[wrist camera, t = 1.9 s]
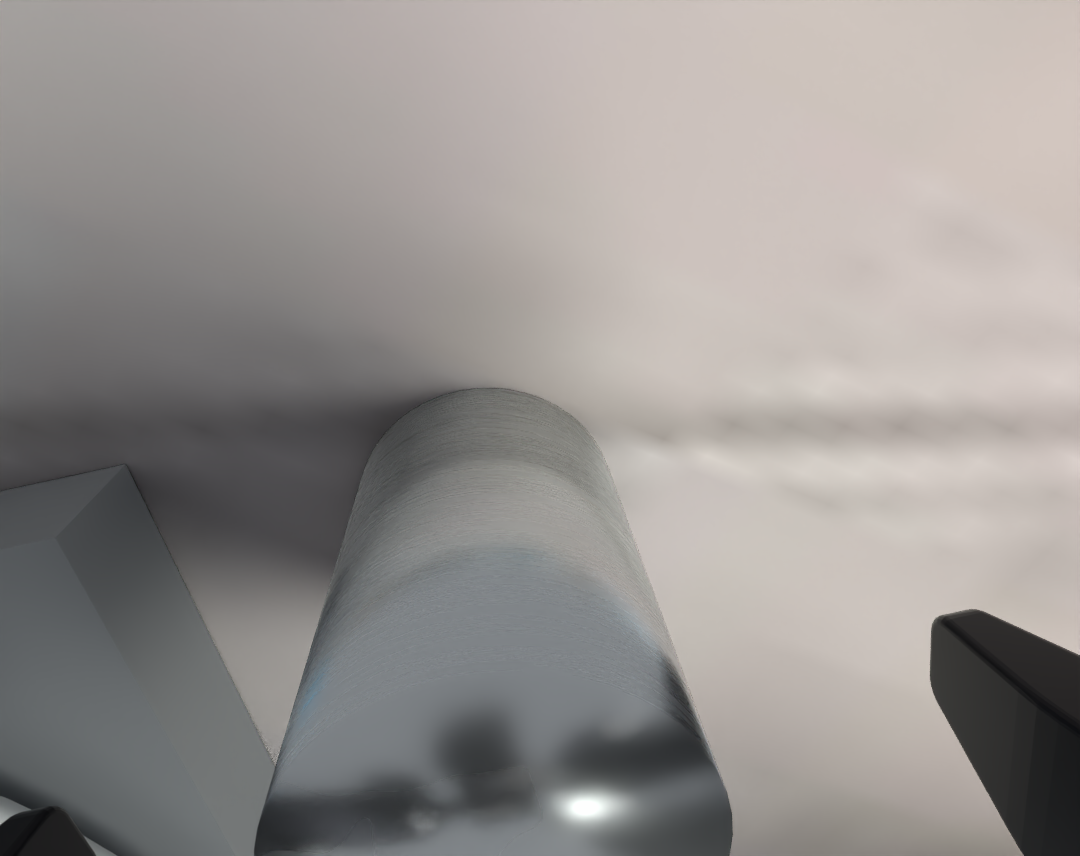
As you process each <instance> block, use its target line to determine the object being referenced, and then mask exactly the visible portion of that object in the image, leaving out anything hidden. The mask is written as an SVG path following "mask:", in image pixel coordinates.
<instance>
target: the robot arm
mask: <svg viewBox="0 0 1080 856" xmlns="http://www.w3.org/2000/svg"><path fill="white" fill-rule="evenodd" d="M930 681H931V687H932V690H933V693H934V696H935V698H936V700H937V702H938V704H939V706H940V708H941V710H942V712H943V713H944V715H945V717H946V719H947V721H948V722H949V724H950V726H951V728H952V730H953V731H954V733H955V735H956V737H957V739H958V740H959V742H960V744H961V746H962V748H963V749H964V751H965V753H966V755H967V757H968V758H969V760H970V762H971V764H972V766H973V767H974V769H975V771H976V773H977V775H978V776H979V778H980V780H981V782H982V783H983V785H984V787H985V789H986V791H987V792H988V794H989V796H990V798H991V800H992V801H993V803H994V805H995V807H996V809H997V810H998V812H999V814H1000V816H1001V818H1002V819H1003V821H1004V823H1005V825H1006V827H1007V828H1008V830H1009V832H1010V833H1011V835H1012V837H1013V838H1014V840H1015V842H1016V844H1017V845H1018V847H1019V849H1020V850H1021V852H1022V853H1023V855H1024V856H1080V655H1078V654H1076V653H1074V652H1071V651H1069V650H1067V649H1065V648H1063V647H1060V646H1058V645H1056V644H1054V643H1052V642H1049V641H1047V640H1045V639H1043V638H1041V637H1038V636H1036V635H1034V634H1032V633H1030V632H1028V631H1025V630H1023V629H1021V628H1019V627H1017V626H1014V625H1012V624H1010V623H1008V622H1006V621H1003V620H1001V619H999V618H997V617H995V616H992V615H990V614H988V613H986V612H983V611H980V610H976V609H969V610H964V611H960V612H955V613H950V614H945V615H941V616H939V617H937V618H936V619H935V620H934V622H933V624H932V629H931V656H930ZM0 856H96V854H95V852H94V851H93V849H92V848H91V846H90V845H89V843H88V842H87V840H86V839H85V837H84V836H83V834H82V833H81V832H80V830H79V829H78V827H77V826H76V824H75V823H74V821H73V820H72V818H71V817H70V816H69V814H68V813H67V812H66V811H65V810H64V809H63V808H61V807H59V806H46V807H42V808H37V809H32V810H28V811H23V812H20V813H17V814H15V815H13V816H11V817H9V818H8V819H7V820H5V821H4V822H3V823H2V824H1V825H0Z"/></svg>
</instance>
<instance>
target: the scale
mask: <svg viewBox="0 0 1080 856" xmlns="http://www.w3.org/2000/svg"><path fill="white" fill-rule="evenodd" d="M274 770H275V766H274V764H273V762H272V760H271V758H270V756H269V754H268V752H267V750H266V748H265V746H264V744H263V742H262V740H261V738H260V735H259V733H258V731H257V729H256V727H255V725H254V723H253V721H252V719H251V717H250V715H249V713H248V711H247V709H246V707H245V705H244V703H243V701H242V699H241V697H240V695H239V693H238V691H237V689H236V687H235V685H234V683H233V681H232V679H231V677H230V675H229V673H228V671H227V669H226V667H225V665H224V663H223V660H222V658H221V656H220V654H219V652H218V650H217V648H216V646H215V644H214V642H213V640H212V638H211V636H210V634H209V632H208V630H207V628H206V626H205V624H204V622H203V620H202V618H201V616H200V614H199V612H198V610H197V608H196V606H195V604H194V602H193V600H192V598H191V596H190V594H189V592H188V590H187V588H186V585H185V583H184V581H183V579H182V577H181V575H180V573H179V571H178V569H177V567H176V565H175V563H174V561H173V559H172V557H171V555H170V553H169V551H168V549H167V547H166V545H165V543H164V541H163V539H162V537H161V535H160V533H159V531H158V529H157V527H156V525H155V523H154V521H153V519H152V517H151V515H150V513H149V510H148V508H147V506H146V504H145V502H144V500H143V498H142V496H141V494H140V492H139V490H138V488H137V486H136V484H135V482H134V480H133V478H132V476H131V474H130V472H129V470H128V468H127V466H126V464H125V465H120V466H115V467H111V468H106V469H102V470H97V471H92V472H88V473H83V474H79V475H74V476H69V477H65V478H60V479H56V480H51V481H46V482H42V483H37V484H33V485H28V486H23V487H19V488H14V489H9V490H5V491H0V825H1V824H2V823H3V822H4V821H5V820H7V819H8V818H9V817H11V816H13V815H15V814H17V813H20V812H23V811H28V810H32V809H37V808H42V807H46V806H59V807H61V808H63V809H64V810H65V811H66V812H67V813H68V814H69V816H70V817H71V818H72V820H73V821H74V823H75V824H76V826H77V827H78V829H79V830H80V832H81V833H82V834H83V836H84V837H85V839H86V840H87V842H88V843H89V845H90V846H91V848H92V849H93V851H94V852H95V854H96V856H254V845H255V839H256V833H257V827H258V824H259V820H260V817H261V814H262V810H263V807H264V804H265V800H266V797H267V794H268V790H269V787H270V783H271V780H272V777H273V773H274Z"/></svg>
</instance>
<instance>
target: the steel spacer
mask: <svg viewBox="0 0 1080 856" xmlns="http://www.w3.org/2000/svg"><path fill="white" fill-rule="evenodd" d="M732 835H733V832H732V812H731V808H730V803H729V799H728V795H727V791H726V789H725V786H724V783H723V780H722V778H721V775H720V772H719V769H718V767H717V764H716V761H715V758H714V756H713V753H712V750H711V747H710V745H709V742H708V739H707V737H706V734H705V731H704V728H703V726H702V723H701V720H700V717H699V715H698V712H697V709H696V706H695V704H694V701H693V698H692V695H691V693H690V690H689V687H688V685H687V682H686V679H685V676H684V674H683V671H682V668H681V665H680V663H679V660H678V657H677V654H676V652H675V649H674V646H673V643H672V641H671V638H670V635H669V632H668V630H667V627H666V624H665V622H664V619H663V616H662V613H661V611H660V608H659V605H658V602H657V600H656V597H655V594H654V591H653V589H652V586H651V583H650V580H649V578H648V575H647V572H646V570H645V567H644V564H643V561H642V559H641V556H640V553H639V550H638V548H637V545H636V542H635V539H634V537H633V534H632V531H631V528H630V526H629V523H628V520H627V518H626V515H625V512H624V509H623V507H622V504H621V501H620V498H619V496H618V493H617V490H616V487H615V485H614V482H613V479H612V476H611V474H610V471H609V468H608V465H607V463H606V461H605V458H604V456H603V454H602V451H601V450H600V448H599V447H598V445H597V443H596V442H595V440H594V439H593V437H592V436H591V435H590V434H589V432H588V431H587V430H586V429H585V428H584V427H583V426H582V425H581V424H580V423H579V422H578V421H577V420H576V419H575V418H574V417H572V416H571V415H570V414H568V413H567V412H565V411H564V410H562V409H561V408H559V407H558V406H556V405H554V404H552V403H550V402H548V401H546V400H544V399H542V398H539V397H536V396H533V395H530V394H527V393H523V392H519V391H514V390H508V389H498V388H477V389H469V390H462V391H456V392H453V393H449V394H446V395H442V396H439V397H437V398H434V399H432V400H430V401H427V402H425V403H423V404H421V405H420V406H418V407H416V408H415V409H413V410H411V411H409V412H408V413H407V414H405V415H404V416H403V417H402V418H400V419H399V420H398V421H396V422H395V423H394V424H393V425H392V426H391V427H390V429H389V430H388V431H387V432H386V433H385V434H384V435H383V436H382V438H381V439H380V440H379V442H378V443H377V444H376V446H375V447H374V449H373V451H372V453H371V455H370V457H369V459H368V461H367V464H366V466H365V469H364V472H363V475H362V478H361V482H360V485H359V488H358V492H357V495H356V498H355V502H354V505H353V508H352V512H351V515H350V518H349V522H348V525H347V529H346V532H345V535H344V539H343V542H342V545H341V549H340V552H339V555H338V559H337V562H336V565H335V569H334V572H333V575H332V579H331V582H330V586H329V589H328V592H327V596H326V599H325V602H324V606H323V609H322V612H321V616H320V619H319V622H318V626H317V629H316V633H315V636H314V639H313V643H312V646H311V649H310V653H309V656H308V659H307V663H306V666H305V669H304V673H303V676H302V679H301V683H300V686H299V690H298V693H297V696H296V700H295V703H294V706H293V710H292V713H291V716H290V720H289V723H288V726H287V730H286V733H285V737H284V740H283V743H282V747H281V750H280V753H279V757H278V760H277V763H276V767H275V770H274V773H273V777H272V780H271V783H270V787H269V790H268V794H267V797H266V800H265V804H264V807H263V810H262V814H261V817H260V820H259V824H258V827H257V833H256V839H255V845H254V856H729V855H730V848H731V842H732Z"/></svg>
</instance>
